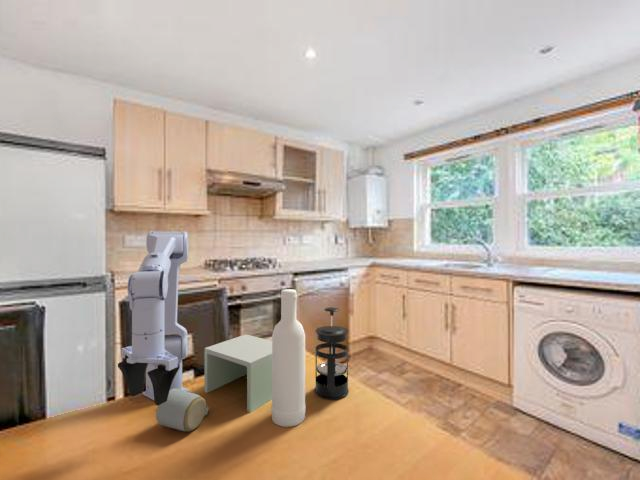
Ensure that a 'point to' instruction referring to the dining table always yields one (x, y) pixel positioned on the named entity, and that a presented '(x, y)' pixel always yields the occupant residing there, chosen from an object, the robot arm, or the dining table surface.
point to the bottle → (288, 365)
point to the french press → (331, 362)
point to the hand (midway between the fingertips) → (148, 398)
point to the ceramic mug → (182, 410)
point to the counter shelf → (241, 367)
